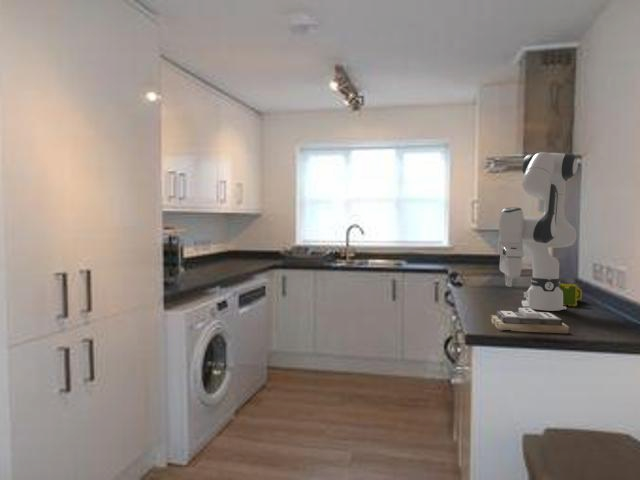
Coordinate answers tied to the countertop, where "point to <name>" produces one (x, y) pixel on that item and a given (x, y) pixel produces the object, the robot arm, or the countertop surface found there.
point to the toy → (570, 294)
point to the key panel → (529, 324)
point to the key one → (508, 314)
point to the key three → (547, 315)
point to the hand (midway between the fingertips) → (508, 286)
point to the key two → (528, 313)
